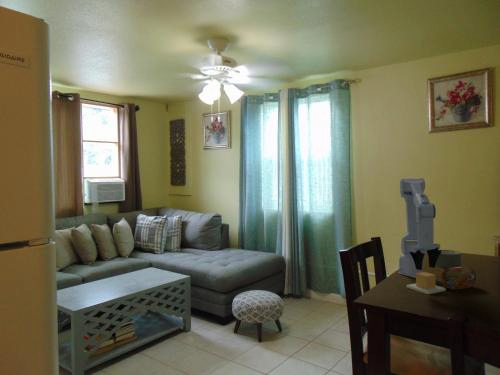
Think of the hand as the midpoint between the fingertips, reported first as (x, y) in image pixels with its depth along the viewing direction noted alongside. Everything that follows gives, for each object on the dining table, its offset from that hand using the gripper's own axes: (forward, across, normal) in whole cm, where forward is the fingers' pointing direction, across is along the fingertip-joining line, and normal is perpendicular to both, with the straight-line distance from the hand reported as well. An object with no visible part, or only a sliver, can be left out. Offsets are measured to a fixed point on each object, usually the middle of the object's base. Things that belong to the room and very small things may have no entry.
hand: (425, 268), depth 145 cm
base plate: (+8, 0, 0) cm, 8 cm away
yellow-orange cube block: (+7, 0, 0) cm, 7 cm away
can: (+9, +43, +22) cm, 49 cm away
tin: (+8, +13, -5) cm, 16 cm away
